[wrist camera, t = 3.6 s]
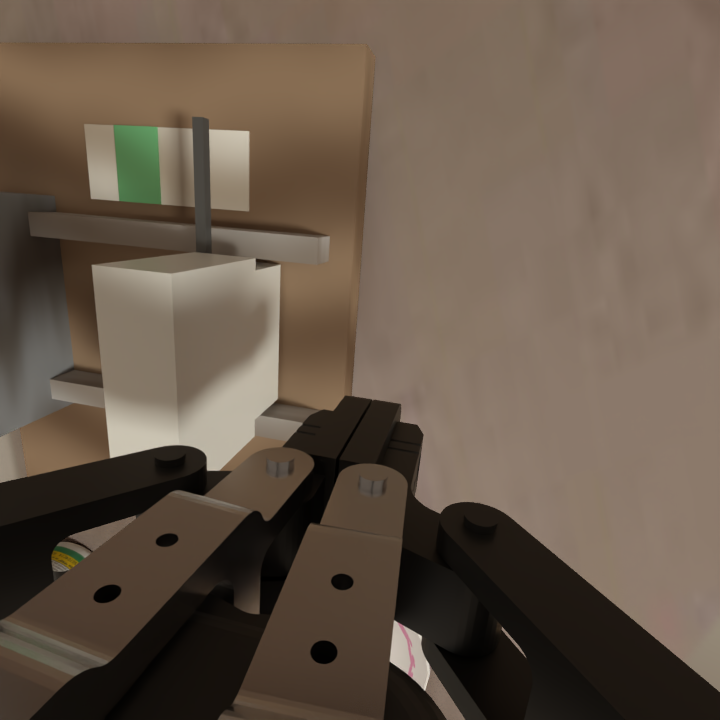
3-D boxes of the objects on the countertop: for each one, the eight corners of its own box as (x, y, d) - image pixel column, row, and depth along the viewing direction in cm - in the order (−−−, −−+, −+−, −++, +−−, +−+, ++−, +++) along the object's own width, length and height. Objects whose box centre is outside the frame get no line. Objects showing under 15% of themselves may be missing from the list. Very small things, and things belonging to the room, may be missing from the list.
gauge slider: (189, 128, 19) (11, 74, 12) (288, 132, 18) (162, 77, 11) (198, 395, 23) (64, 480, 15) (281, 410, 22) (182, 506, 15)
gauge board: (-8, 53, 22) (-234, -22, 15) (375, 57, 18) (311, -40, 11) (51, 474, 29) (-87, 557, 22) (341, 538, 25) (287, 662, 18)
